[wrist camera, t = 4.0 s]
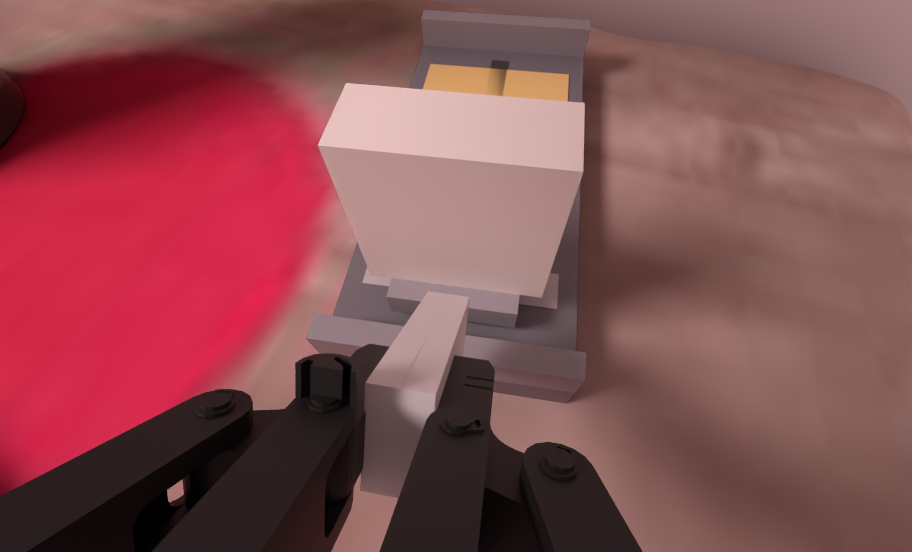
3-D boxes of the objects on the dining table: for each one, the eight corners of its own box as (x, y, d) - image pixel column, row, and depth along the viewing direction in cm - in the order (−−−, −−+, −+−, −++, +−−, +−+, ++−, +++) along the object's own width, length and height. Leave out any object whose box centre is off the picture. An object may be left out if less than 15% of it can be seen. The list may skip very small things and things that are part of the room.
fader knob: (535, 330, 20) (582, 198, 12) (371, 307, 21) (306, 169, 12) (542, 243, 22) (585, 83, 14) (395, 226, 23) (354, 65, 15)
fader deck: (566, 403, 21) (585, 380, 17) (331, 366, 22) (305, 338, 18) (577, 71, 33) (590, 20, 30) (428, 60, 34) (424, 9, 31)
